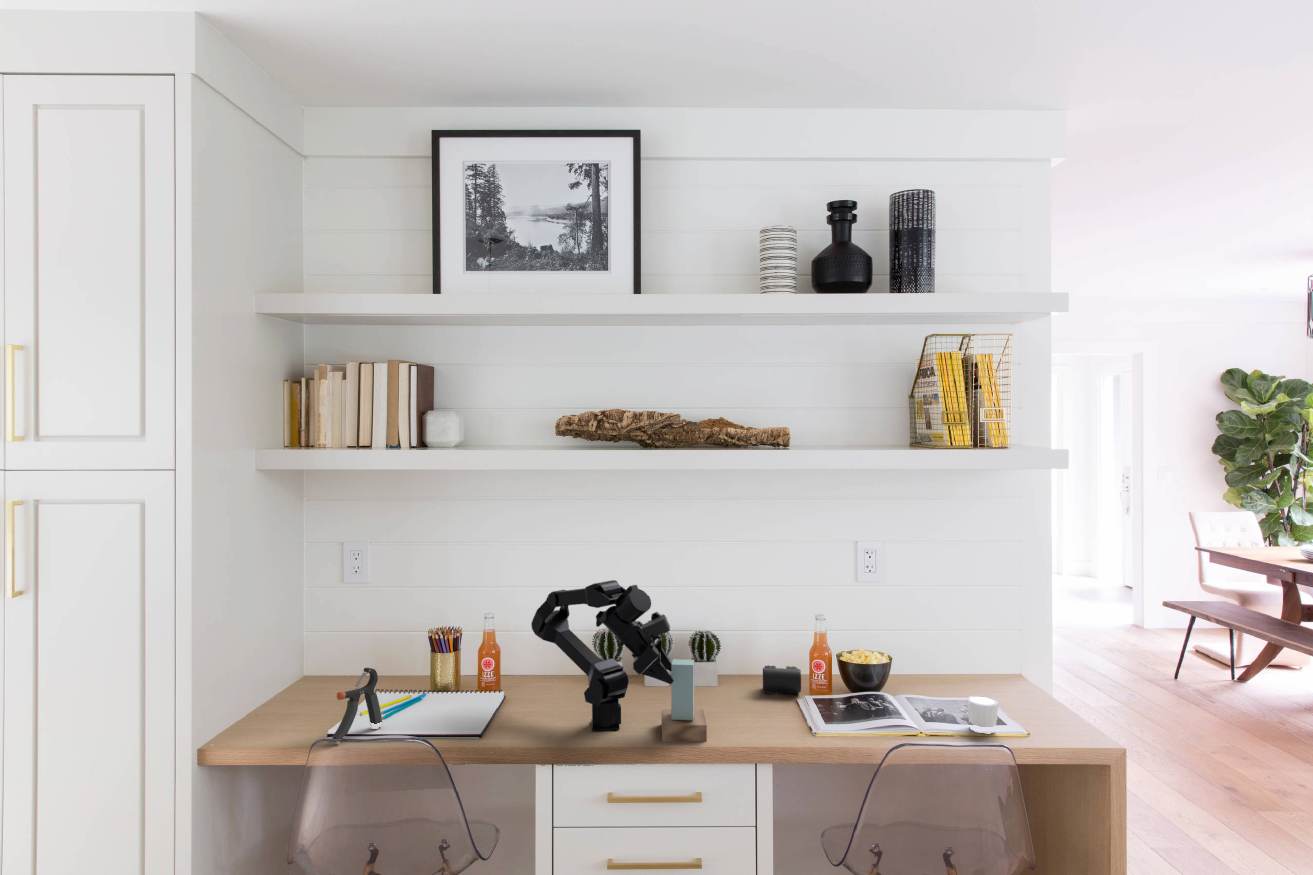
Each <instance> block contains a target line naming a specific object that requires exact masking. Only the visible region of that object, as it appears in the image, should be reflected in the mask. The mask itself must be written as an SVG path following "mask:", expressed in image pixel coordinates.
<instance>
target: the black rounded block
mask: <svg viewBox="0 0 1313 875" xmlns="http://www.w3.org/2000/svg"><path fill="white" fill-rule="evenodd" d="M762 691H763V693H765V694H778V695H779V694H780V695H781V694H783V695H799V694H800V693H801V692H802V671H801V669H800V668H798V667H797V666H794V665H793V666H789V665H787V666H786V667H785V668H783V667H782V668H780V667H779V668H778V667H776V665H765V666H764V667H763V668H762Z"/></svg>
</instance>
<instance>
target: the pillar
mask: <svg viewBox="0 0 1313 875" xmlns="http://www.w3.org/2000/svg"><path fill="white" fill-rule="evenodd" d="M671 664H672V671H671V677H672V678H673V680H674V682H673V683H672V684H670V685H671V691H670V692H671V693H670V694H671V695H670V696H671V703H670V704H671V705H670V706H671V720H693V718H694V709H695V659H682V658H681V659H679V658H673V659H672V661H671Z"/></svg>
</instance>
